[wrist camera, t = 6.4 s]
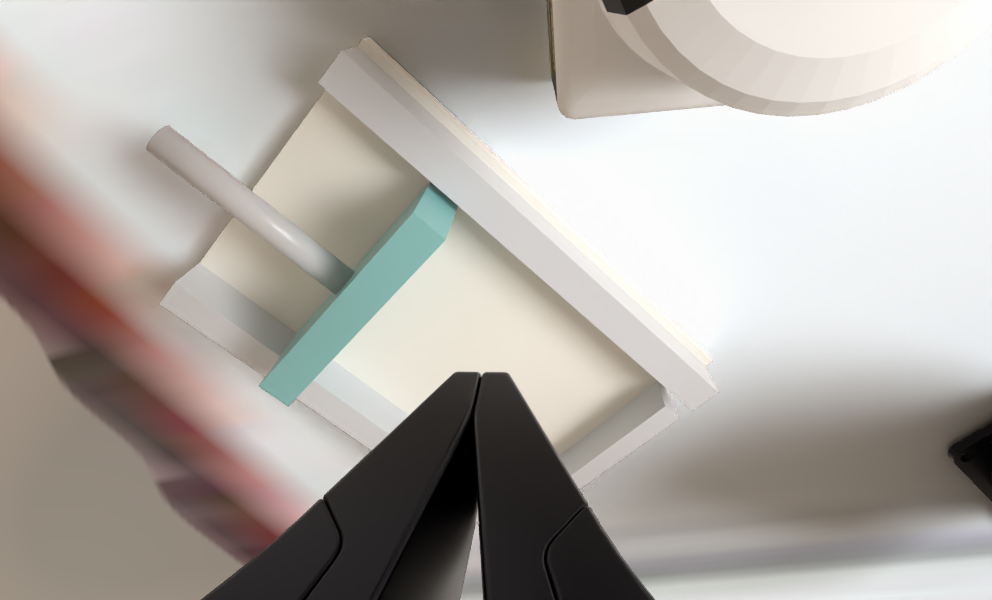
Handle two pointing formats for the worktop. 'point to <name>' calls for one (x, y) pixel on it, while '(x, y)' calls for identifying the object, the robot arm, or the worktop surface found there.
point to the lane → (444, 281)
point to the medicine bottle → (749, 52)
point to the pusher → (318, 260)
